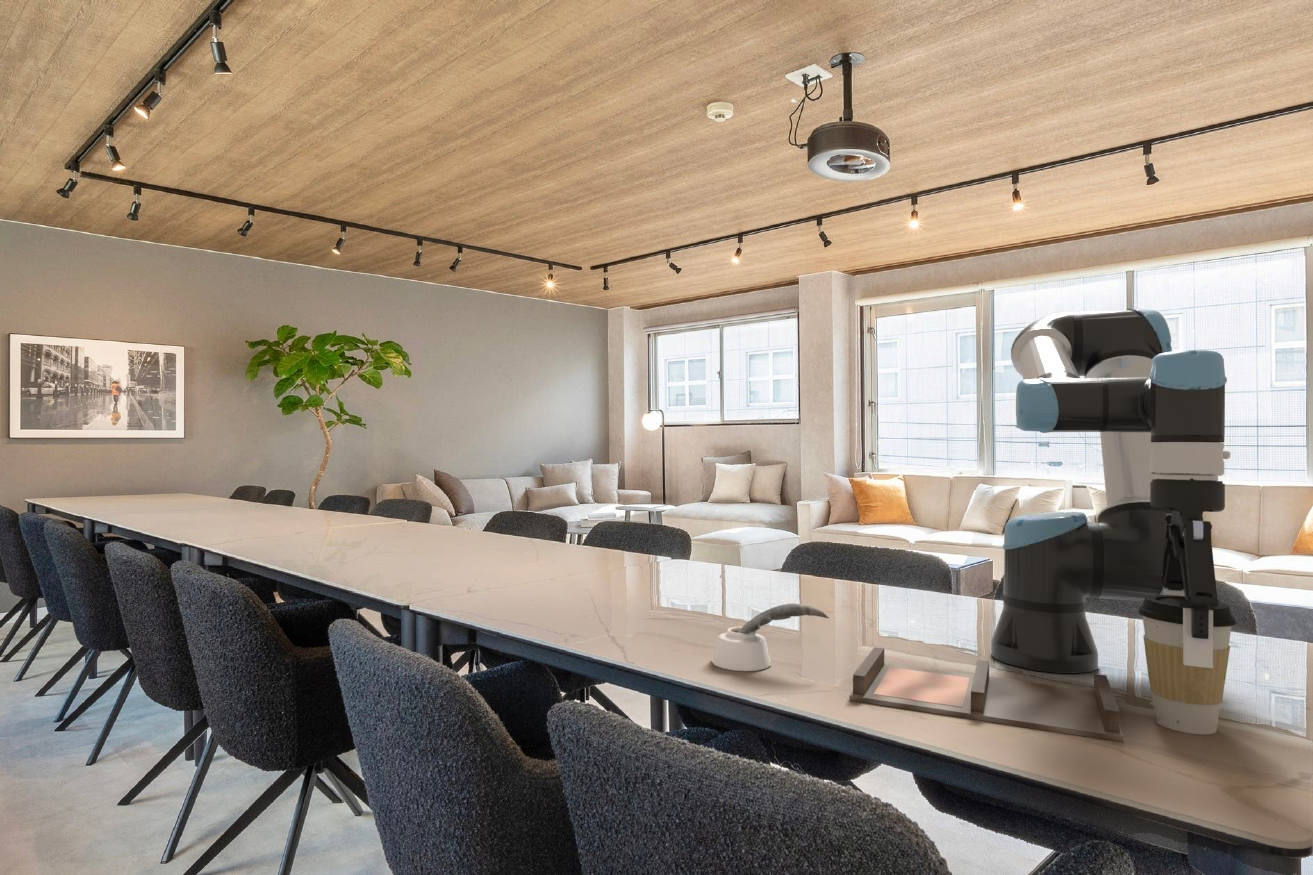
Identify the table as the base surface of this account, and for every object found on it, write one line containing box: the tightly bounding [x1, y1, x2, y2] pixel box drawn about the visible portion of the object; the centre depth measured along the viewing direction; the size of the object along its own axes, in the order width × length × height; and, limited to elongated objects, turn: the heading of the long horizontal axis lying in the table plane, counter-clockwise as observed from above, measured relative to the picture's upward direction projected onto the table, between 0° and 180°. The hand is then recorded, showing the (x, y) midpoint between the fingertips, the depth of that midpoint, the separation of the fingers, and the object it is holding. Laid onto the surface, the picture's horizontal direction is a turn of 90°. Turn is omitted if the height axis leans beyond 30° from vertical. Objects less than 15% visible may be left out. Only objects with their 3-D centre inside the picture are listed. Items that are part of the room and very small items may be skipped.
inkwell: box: [711, 603, 830, 672], centre depth 117 cm, size 9×18×10 cm, turn 68°
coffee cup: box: [1138, 595, 1237, 736], centre depth 94 cm, size 10×10×15 cm
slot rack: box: [848, 646, 1124, 743], centre depth 103 cm, size 31×18×3 cm, turn 65°
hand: (1186, 653), depth 94 cm, fingers open, 13 cm apart
